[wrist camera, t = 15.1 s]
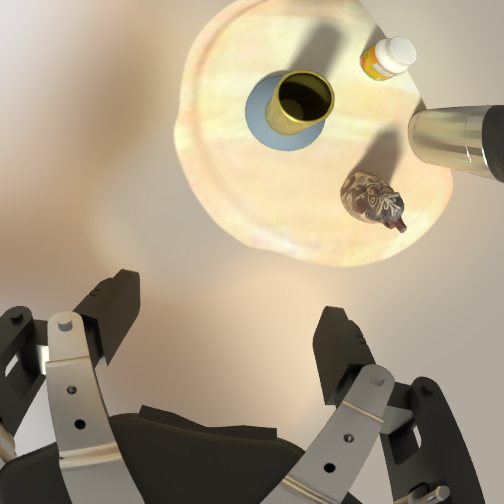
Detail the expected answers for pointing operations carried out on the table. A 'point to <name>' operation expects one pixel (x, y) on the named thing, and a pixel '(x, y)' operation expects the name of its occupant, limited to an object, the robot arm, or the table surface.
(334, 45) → the table surface
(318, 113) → the vase
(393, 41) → the supplement bottle
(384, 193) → the figurine
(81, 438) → the robot arm
